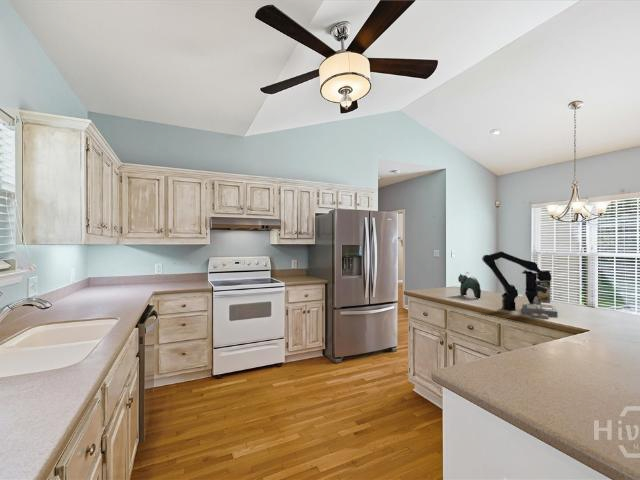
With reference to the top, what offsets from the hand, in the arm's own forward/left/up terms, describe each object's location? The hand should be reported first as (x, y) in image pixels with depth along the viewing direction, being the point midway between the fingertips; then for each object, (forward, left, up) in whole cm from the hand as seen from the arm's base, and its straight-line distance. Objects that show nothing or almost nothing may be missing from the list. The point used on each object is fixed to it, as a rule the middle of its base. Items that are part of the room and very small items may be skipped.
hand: (531, 304), depth 195 cm
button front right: (+4, -10, -2) cm, 11 cm away
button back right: (+7, -3, -1) cm, 8 cm away
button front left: (-3, -7, -1) cm, 8 cm away
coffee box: (+17, +26, -4) cm, 31 cm away
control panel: (+2, -5, -3) cm, 6 cm away
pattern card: (-3, -17, -3) cm, 18 cm away
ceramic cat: (-25, +46, -4) cm, 52 cm away
